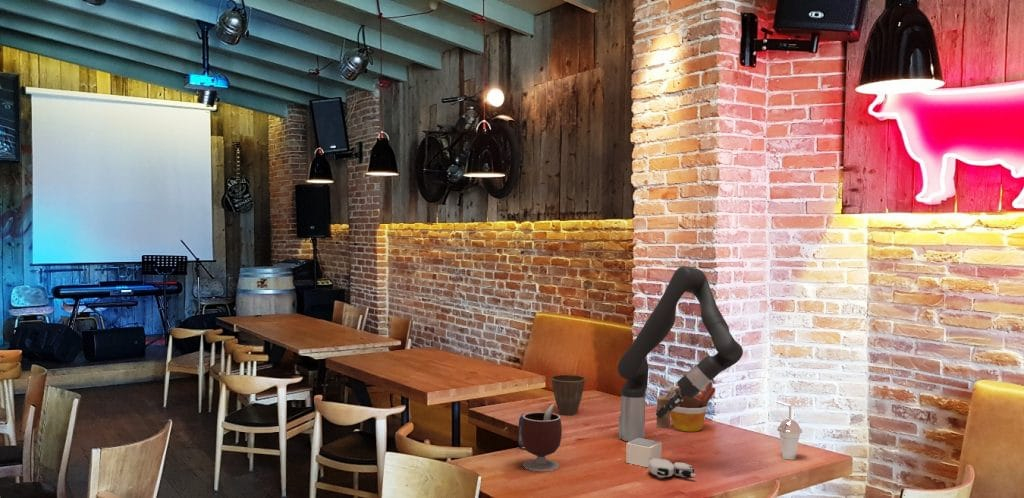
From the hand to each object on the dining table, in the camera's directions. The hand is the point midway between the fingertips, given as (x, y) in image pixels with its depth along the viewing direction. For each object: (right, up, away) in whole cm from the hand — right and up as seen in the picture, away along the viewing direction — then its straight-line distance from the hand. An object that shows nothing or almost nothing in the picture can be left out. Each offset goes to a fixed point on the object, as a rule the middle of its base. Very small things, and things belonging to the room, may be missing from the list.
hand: (657, 414), depth 256 cm
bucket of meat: (+22, -17, +49) cm, 56 cm away
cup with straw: (+49, -18, +10) cm, 53 cm away
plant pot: (-26, -16, +73) cm, 79 cm away
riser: (-5, -17, +1) cm, 18 cm away
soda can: (-45, -17, +18) cm, 51 cm away
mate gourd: (-40, -17, -4) cm, 44 cm away
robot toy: (+2, -18, -12) cm, 22 cm away
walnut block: (+2, -4, 0) cm, 5 cm away
